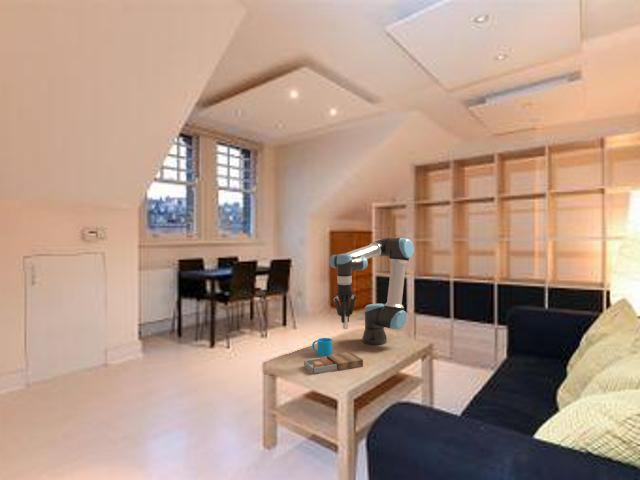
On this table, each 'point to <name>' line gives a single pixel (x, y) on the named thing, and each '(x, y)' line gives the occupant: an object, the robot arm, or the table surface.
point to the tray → (327, 368)
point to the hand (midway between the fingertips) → (345, 328)
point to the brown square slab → (345, 360)
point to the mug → (323, 347)
